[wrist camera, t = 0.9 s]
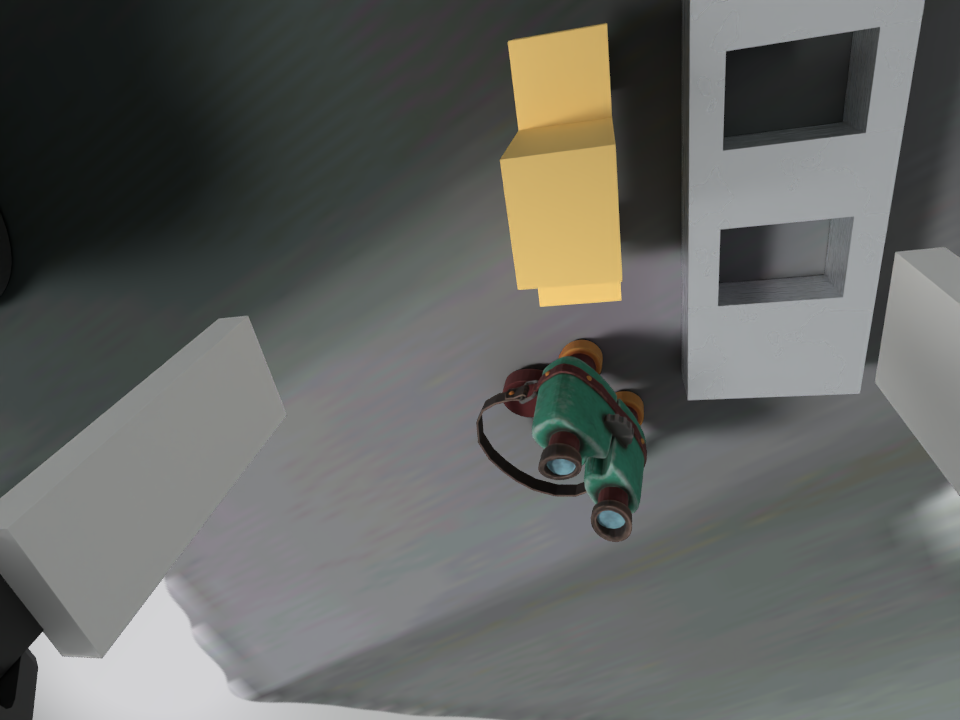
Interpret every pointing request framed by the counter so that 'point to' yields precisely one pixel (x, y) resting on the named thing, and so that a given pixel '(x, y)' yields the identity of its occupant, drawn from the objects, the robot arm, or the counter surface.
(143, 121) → the counter surface
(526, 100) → the yellow stepped block
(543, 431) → the binoculars
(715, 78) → the grey board with holes
